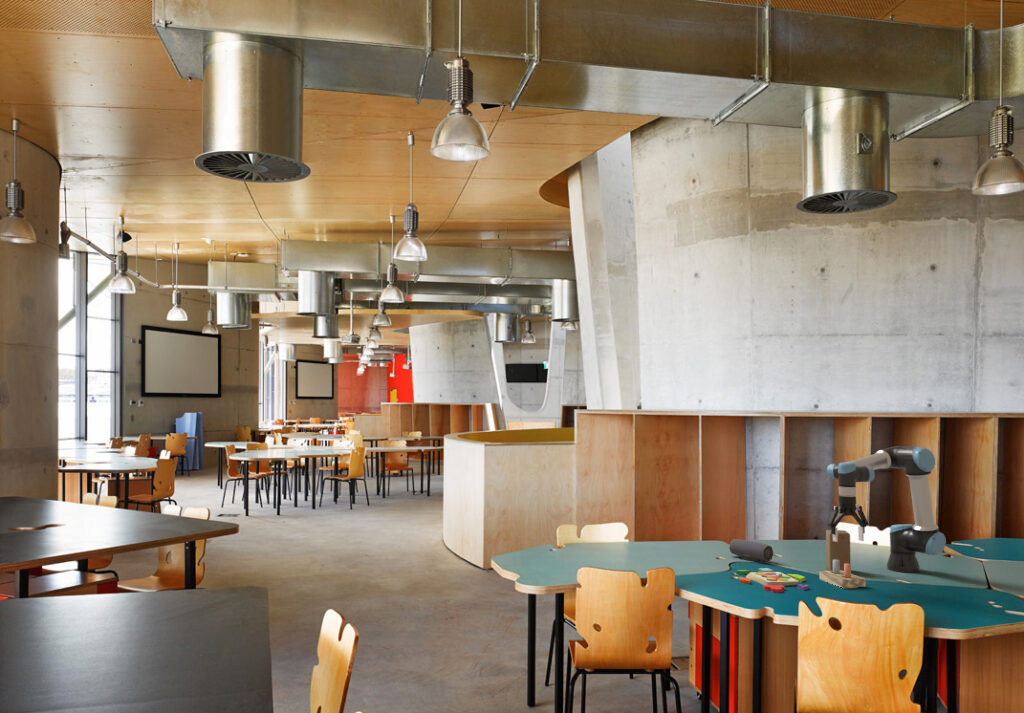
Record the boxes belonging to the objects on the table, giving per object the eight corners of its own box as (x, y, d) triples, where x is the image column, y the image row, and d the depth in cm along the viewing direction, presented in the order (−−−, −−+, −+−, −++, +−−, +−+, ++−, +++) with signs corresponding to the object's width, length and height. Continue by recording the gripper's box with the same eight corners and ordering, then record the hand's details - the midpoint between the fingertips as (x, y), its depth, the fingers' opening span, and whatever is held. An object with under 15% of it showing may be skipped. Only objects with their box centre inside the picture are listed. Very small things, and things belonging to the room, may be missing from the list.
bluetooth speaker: (774, 562, 406) (774, 543, 406) (763, 564, 400) (763, 545, 401) (739, 555, 424) (739, 537, 425) (728, 556, 419) (728, 538, 420)
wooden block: (851, 573, 381) (850, 533, 382) (829, 572, 383) (829, 532, 384) (846, 569, 391) (845, 530, 392) (825, 568, 393) (825, 529, 394)
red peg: (848, 584, 357) (848, 563, 357) (852, 586, 354) (852, 564, 355) (842, 585, 356) (842, 563, 357) (846, 586, 353) (846, 564, 354)
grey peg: (837, 580, 366) (836, 559, 366) (841, 581, 363) (840, 560, 363) (831, 580, 365) (831, 559, 366) (835, 582, 362) (835, 560, 363)
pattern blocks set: (718, 576, 374) (718, 570, 374) (771, 571, 387) (771, 565, 387) (773, 594, 338) (772, 587, 339) (829, 588, 352) (829, 581, 352)
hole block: (841, 578, 370) (841, 570, 370) (865, 587, 352) (865, 578, 352) (819, 579, 367) (819, 571, 368) (842, 588, 350) (842, 579, 350)
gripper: (865, 494, 364) (866, 538, 363) (818, 495, 359) (819, 540, 358) (876, 496, 357) (876, 541, 355) (828, 497, 352) (829, 543, 351)
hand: (848, 541), depth 357 cm, fingers open, 13 cm apart
